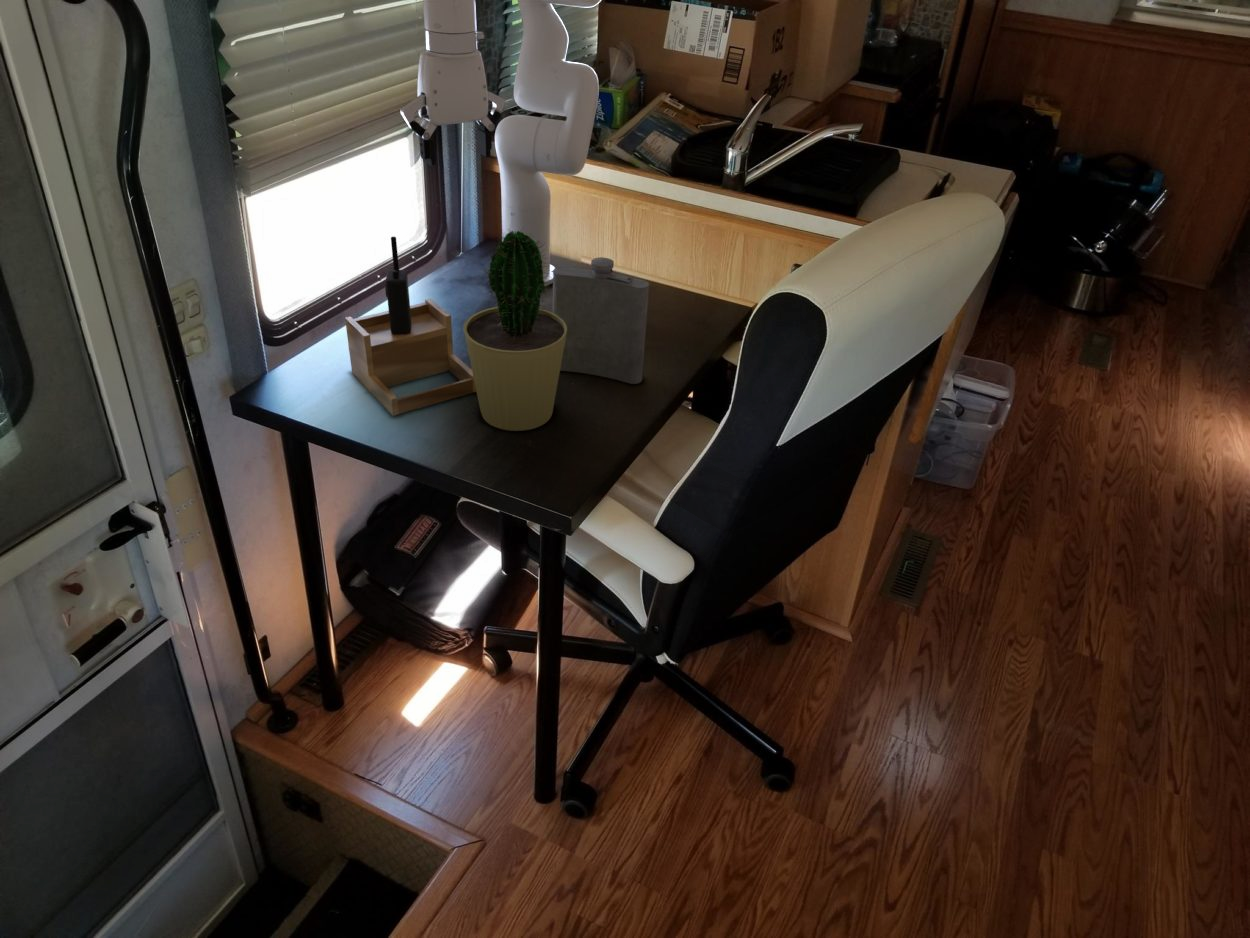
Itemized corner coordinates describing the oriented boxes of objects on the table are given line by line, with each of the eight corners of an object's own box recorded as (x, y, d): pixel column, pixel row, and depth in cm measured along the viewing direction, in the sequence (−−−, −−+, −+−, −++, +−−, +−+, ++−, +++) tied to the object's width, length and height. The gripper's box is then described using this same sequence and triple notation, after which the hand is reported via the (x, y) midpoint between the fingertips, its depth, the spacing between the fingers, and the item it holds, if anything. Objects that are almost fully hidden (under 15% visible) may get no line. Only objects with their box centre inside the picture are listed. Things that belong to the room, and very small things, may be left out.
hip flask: (549, 368, 159) (550, 258, 148) (557, 358, 163) (558, 249, 151) (639, 385, 156) (647, 273, 145) (645, 374, 160) (653, 264, 148)
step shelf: (351, 372, 155) (344, 317, 149) (434, 351, 162) (430, 298, 157) (392, 416, 144) (387, 359, 139) (478, 391, 152) (476, 336, 146)
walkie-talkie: (410, 334, 150) (402, 245, 141) (389, 335, 149) (380, 245, 141) (411, 321, 154) (404, 233, 145) (390, 321, 153) (381, 233, 145)
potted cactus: (470, 386, 153) (462, 208, 136) (564, 387, 154) (568, 211, 137) (463, 438, 140) (454, 248, 123) (566, 438, 142) (570, 251, 125)
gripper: (490, 33, 144) (493, 145, 154) (385, 41, 136) (395, 159, 146) (514, 43, 140) (516, 158, 149) (408, 52, 131) (417, 173, 141)
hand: (456, 159), depth 147 cm, fingers open, 9 cm apart
